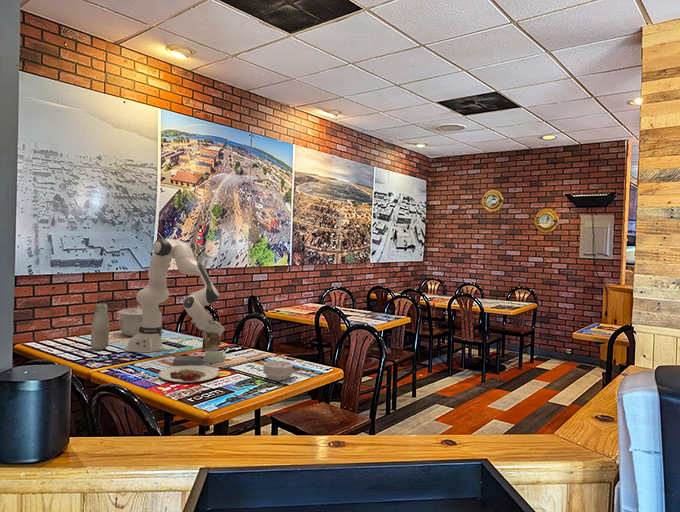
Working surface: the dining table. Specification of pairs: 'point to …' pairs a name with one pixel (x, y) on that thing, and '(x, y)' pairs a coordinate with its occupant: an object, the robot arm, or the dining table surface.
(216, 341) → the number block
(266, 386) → the dining table surface
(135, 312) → the chamber pot
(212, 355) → the holder
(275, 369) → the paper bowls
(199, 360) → the block
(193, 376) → the plated food
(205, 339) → the coffee box
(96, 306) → the glass bottle
